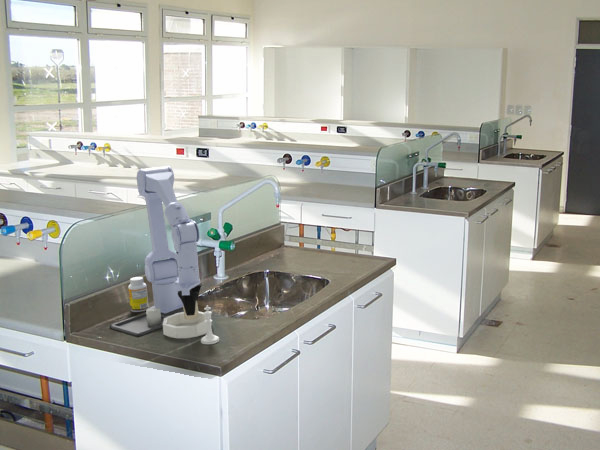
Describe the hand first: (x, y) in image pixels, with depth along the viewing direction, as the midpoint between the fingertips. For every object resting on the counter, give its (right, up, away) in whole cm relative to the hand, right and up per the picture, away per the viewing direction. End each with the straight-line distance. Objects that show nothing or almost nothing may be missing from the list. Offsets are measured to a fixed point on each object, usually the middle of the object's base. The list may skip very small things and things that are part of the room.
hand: (191, 312), depth 200 cm
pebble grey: (-12, -4, +5) cm, 13 cm away
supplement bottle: (-19, -2, +20) cm, 28 cm away
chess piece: (+6, -7, -9) cm, 13 cm away
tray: (-15, -5, +6) cm, 16 cm away
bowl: (-1, -5, -1) cm, 5 cm away
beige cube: (0, -1, 0) cm, 1 cm away
